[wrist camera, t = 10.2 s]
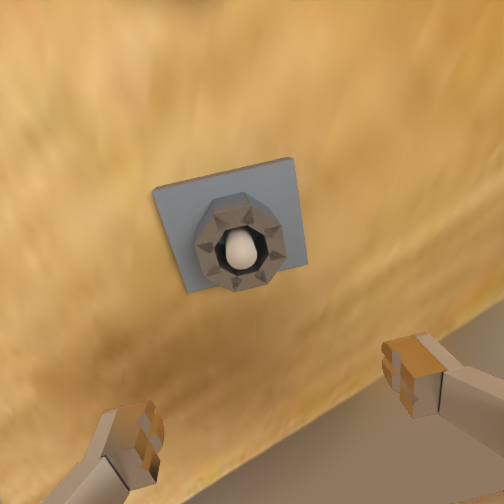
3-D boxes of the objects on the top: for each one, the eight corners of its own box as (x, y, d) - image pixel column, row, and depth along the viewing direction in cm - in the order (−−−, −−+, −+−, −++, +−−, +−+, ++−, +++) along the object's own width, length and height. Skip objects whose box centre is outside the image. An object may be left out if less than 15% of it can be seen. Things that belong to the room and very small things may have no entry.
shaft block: (288, 157, 25) (314, 166, 18) (302, 256, 29) (328, 294, 22) (156, 187, 25) (133, 208, 18) (189, 283, 29) (180, 329, 22)
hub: (265, 186, 24) (277, 199, 19) (277, 253, 27) (290, 278, 22) (192, 203, 24) (186, 220, 19) (211, 269, 26) (210, 298, 22)
